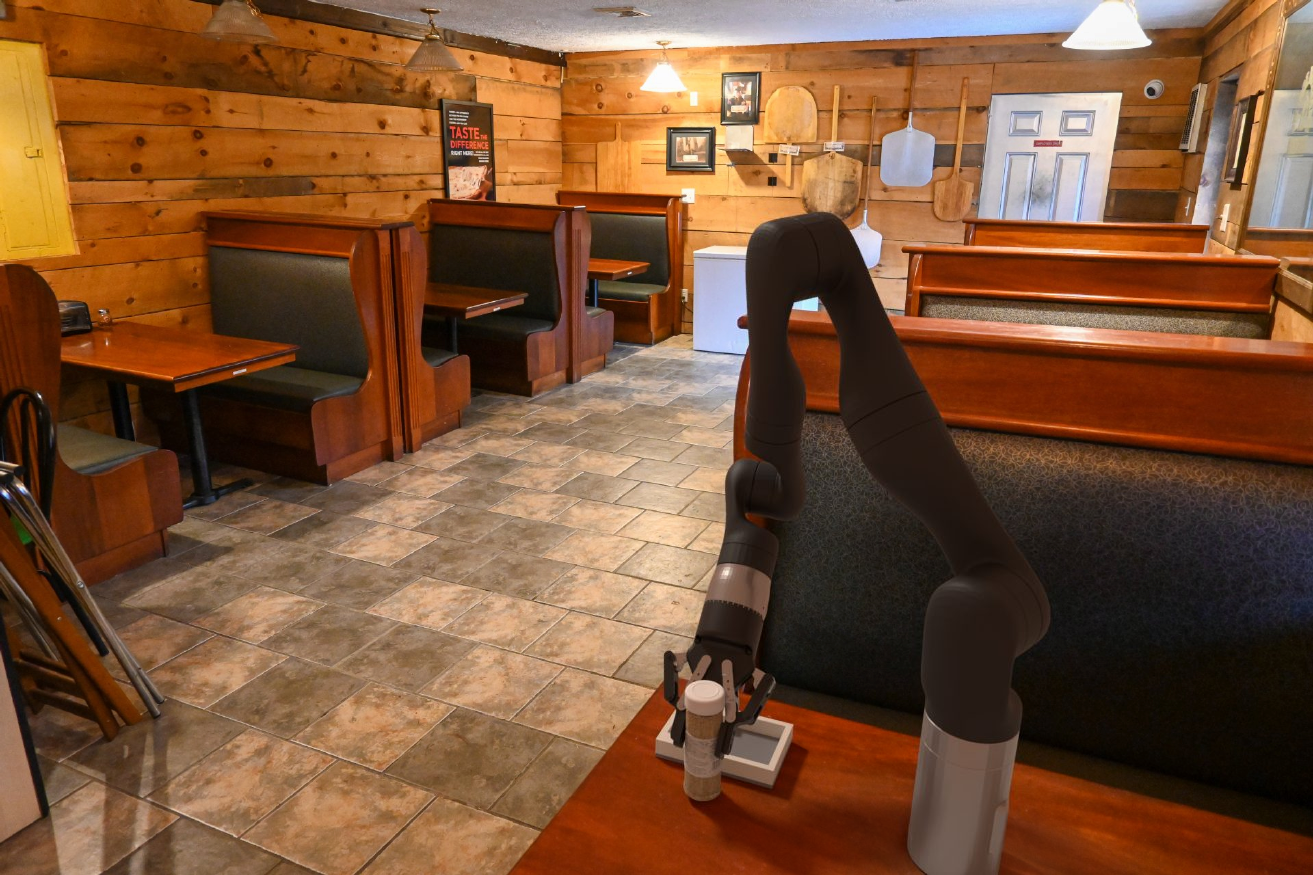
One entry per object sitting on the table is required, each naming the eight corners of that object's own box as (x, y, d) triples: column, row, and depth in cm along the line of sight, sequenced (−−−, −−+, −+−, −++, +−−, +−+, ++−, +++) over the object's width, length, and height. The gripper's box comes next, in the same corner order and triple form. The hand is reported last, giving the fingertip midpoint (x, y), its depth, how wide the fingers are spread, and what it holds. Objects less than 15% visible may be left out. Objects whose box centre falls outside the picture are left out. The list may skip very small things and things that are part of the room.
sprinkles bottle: (703, 772, 104) (706, 673, 100) (729, 792, 101) (733, 691, 97) (674, 787, 101) (676, 687, 98) (700, 809, 98) (703, 706, 94)
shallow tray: (792, 741, 111) (793, 724, 111) (772, 788, 103) (773, 770, 102) (683, 712, 117) (683, 696, 116) (655, 756, 108) (655, 738, 107)
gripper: (672, 587, 104) (630, 729, 97) (788, 610, 99) (753, 762, 92) (686, 608, 111) (648, 743, 103) (796, 630, 105) (764, 774, 98)
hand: (698, 751), depth 98 cm, fingers closed on sprinkles bottle, 4 cm apart
